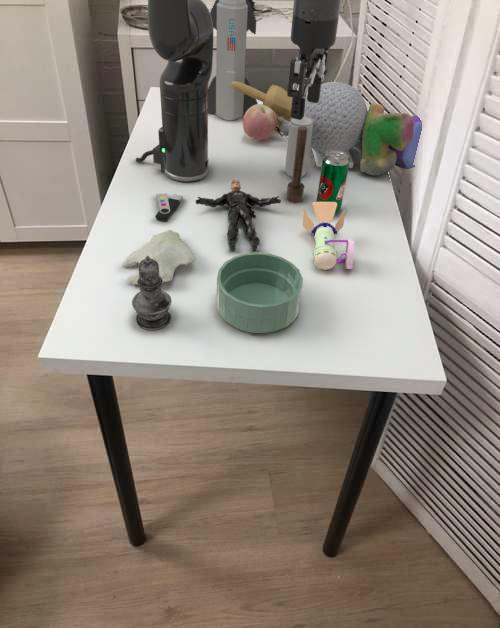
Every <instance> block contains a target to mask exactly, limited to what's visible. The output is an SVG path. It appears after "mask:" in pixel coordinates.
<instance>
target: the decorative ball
mask: <svg viewBox="0 0 500 628" xmlns="http://www.w3.org/2000/svg"><path fill="white" fill-rule="evenodd" d="M367 113H368V107H367V104H366V101H365V99H364V97H363V96H362V94H361V93H360V92H359V91H358V90H357V89H356V88H355V87H353V86H352V85H350V84H348V83H345V82H343V81H342V82H341V81H328V82H325V83H321V90H320V98H319V101H318V102H317V103H313V102H309V101H308V100H307V96H306V101H305V110H304V116H306V117H309V118H311V119H312V120H313V129H312V136H311V143H310V149H311V150H312V149H314V150H316V151H318V152H320V153H323V154H326V152H327V151H329V150H334V149H336V150H342V151H344V152H345V151H347V150H349V151H350V150H351V149H353V148H354V147H355V146H356V145H357V144H358V143H360V142H359V140H360V139H361V138H362V135H363V128H364V124H365V120H366V117H367Z"/></svg>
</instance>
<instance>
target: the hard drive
mask: <svg viewBox="0 0 500 628" xmlns="http://www.w3.org/2000/svg"><path fill="white" fill-rule="evenodd" d="M311 151H312V154H313V157H314V160H315V164H316V167H317V168H321V167H322V160H323V157H324V156H325V154H323V153H320V152H318V151H316V150H314V149H312V148H311ZM345 152H346V153H347V154H348V155H349V160H350V163H349V169H353V168H354V164H355V163H354V159H353V158H352V155H351V152H350V149H349V150H347V151H345Z"/></svg>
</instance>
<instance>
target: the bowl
mask: <svg viewBox="0 0 500 628" xmlns="http://www.w3.org/2000/svg"><path fill="white" fill-rule="evenodd" d="M216 276H217V277H216V307H217V311H218V314H219V315H220V316H221V318H222V319H223V320H224V321H225V322H226V323H228V324H229V325H231V326H232V327H233V328H235V329H237V330H241V331H244V332H247V333H255V334H266V333H267V334H268V333H275V332H277V331H281V330H283V329H285V328H287V327H288V326H289V325H291V324H292V323H293V322H295V320H296V318H297V316H298V315H299V313H300V306H301V301H302V300H301V299H302V293H303V283H304V278H303V275H302V274H301V271H300V269H299V268H298V267H297V266H296V265H295V263H293V262H291V261H290V260H288V259H286V258H284V257H282V256H280V255H277V254H272V253H268V252H257V251H255V252H247V253H246V252H245V253H242V254H239V255H235V256H233V257H231V258H230V259H228V260H226V261H225V262H223V264H222V265H221V266H220V267H219V269H218V272H217V275H216Z"/></svg>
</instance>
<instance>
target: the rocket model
mask: <svg viewBox="0 0 500 628" xmlns="http://www.w3.org/2000/svg"><path fill="white" fill-rule="evenodd" d="M209 12H210V14H211V18H212V22H213V30H214V29H215V30H216V51H215V53H216V55H215V56H216V61H215V63H216V64H215V67H216V69H215V76H214V77H213V78H212V80H211V82H209V83H210V84H208V114H211V115H213V114H214V115H216V116H217V117H218V118H220V119H222V120H224V121H234V120H239V119H241V118H242V117H244V115H245V113H246V112H247V110H248V109H249V108H250V107H252V106H254V105H256V104H259V102H258V100H257V99H255V98H253V97H250V96H248V95H246V94H244V93H242V92H240V91H238V90H237V89H235V88H233V87H232V85H231V82H233V81H238V82H241V83H244V84H246V85H248V86H250V87H252V86H251V83H250V81H249V80H248V79H247V77H246V55H247V33H248V31H250V32H251V33H252V34H253V35H256V34H257V18H256V16H255V12H254V10H253V8H252V5H251V3H250V0H214V3H213V5H212V7H211V9H210V11H209Z"/></svg>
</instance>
